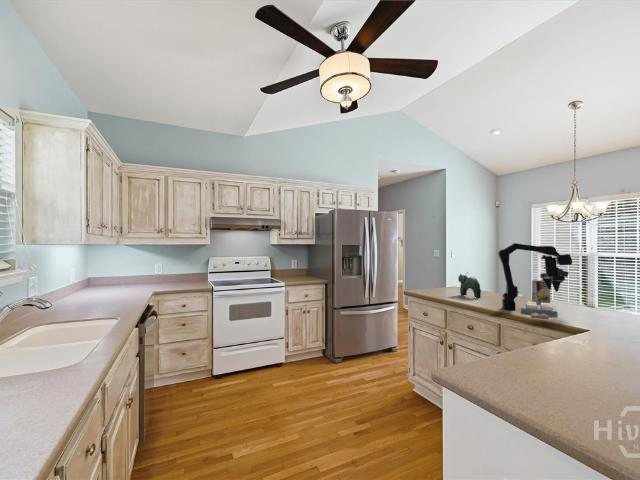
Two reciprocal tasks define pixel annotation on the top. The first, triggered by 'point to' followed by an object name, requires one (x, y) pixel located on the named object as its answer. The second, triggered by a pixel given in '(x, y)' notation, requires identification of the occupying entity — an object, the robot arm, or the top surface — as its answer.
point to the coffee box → (540, 292)
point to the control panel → (539, 310)
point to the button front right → (546, 307)
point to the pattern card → (539, 315)
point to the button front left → (532, 306)
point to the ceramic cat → (469, 285)
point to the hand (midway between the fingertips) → (553, 290)
